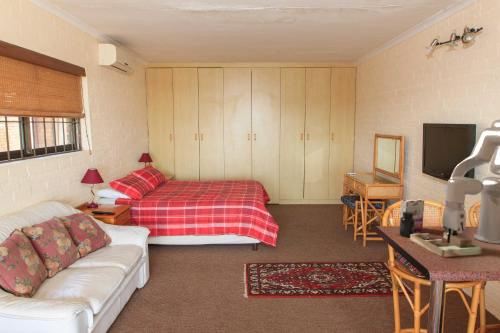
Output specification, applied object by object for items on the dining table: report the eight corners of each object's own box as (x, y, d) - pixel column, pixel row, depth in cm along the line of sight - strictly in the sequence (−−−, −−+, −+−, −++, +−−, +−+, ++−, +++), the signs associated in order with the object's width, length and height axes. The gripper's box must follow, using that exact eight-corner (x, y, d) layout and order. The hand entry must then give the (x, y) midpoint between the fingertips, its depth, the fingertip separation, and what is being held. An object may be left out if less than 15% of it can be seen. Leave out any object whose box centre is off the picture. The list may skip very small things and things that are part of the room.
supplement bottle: (415, 237, 179) (416, 214, 178) (400, 236, 181) (402, 213, 179) (411, 233, 186) (413, 211, 184) (397, 232, 187) (399, 210, 186)
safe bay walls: (465, 246, 167) (465, 240, 167) (481, 254, 158) (481, 247, 158) (429, 249, 163) (430, 243, 163) (444, 256, 155) (444, 250, 154)
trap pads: (427, 239, 176) (427, 239, 176) (452, 252, 160) (452, 251, 160) (413, 240, 175) (413, 240, 175) (437, 253, 159) (437, 252, 159)
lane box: (445, 237, 180) (445, 232, 179) (481, 254, 158) (481, 247, 158) (409, 240, 176) (410, 234, 175) (442, 257, 154) (442, 250, 154)
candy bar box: (416, 227, 198) (418, 198, 195) (422, 229, 193) (425, 200, 191) (398, 228, 195) (401, 199, 192) (405, 231, 190) (407, 201, 188)
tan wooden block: (460, 247, 166) (461, 235, 166) (470, 252, 161) (471, 239, 160) (449, 248, 165) (450, 235, 164) (459, 253, 159) (460, 240, 159)
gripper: (474, 208, 159) (470, 248, 162) (449, 201, 174) (446, 237, 176) (460, 209, 158) (456, 249, 160) (436, 201, 172) (433, 238, 175)
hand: (451, 242), depth 168 cm, fingers closed
